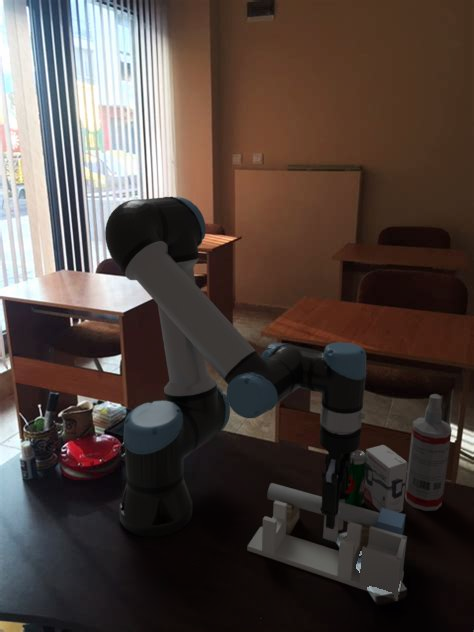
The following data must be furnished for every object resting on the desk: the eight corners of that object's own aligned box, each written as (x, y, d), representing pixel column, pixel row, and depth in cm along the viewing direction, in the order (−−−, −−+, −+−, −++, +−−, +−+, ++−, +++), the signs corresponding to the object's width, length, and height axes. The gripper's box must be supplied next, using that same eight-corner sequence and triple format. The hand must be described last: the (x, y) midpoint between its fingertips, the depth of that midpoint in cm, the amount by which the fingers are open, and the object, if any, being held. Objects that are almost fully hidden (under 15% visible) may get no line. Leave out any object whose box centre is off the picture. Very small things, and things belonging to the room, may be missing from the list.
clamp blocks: (275, 530, 109) (276, 503, 107) (285, 514, 113) (286, 488, 112) (370, 559, 101) (372, 531, 99) (376, 541, 106) (378, 514, 104)
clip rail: (246, 551, 103) (247, 514, 100) (260, 529, 108) (261, 494, 106) (397, 602, 91) (401, 561, 89) (403, 575, 97) (408, 536, 95)
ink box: (360, 494, 120) (364, 447, 117) (379, 489, 122) (383, 443, 119) (384, 517, 113) (389, 467, 110) (403, 511, 115) (409, 462, 112)
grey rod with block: (266, 503, 109) (266, 489, 108) (274, 492, 112) (274, 478, 112) (400, 543, 98) (401, 528, 97) (404, 528, 102) (405, 514, 101)
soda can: (363, 511, 115) (367, 461, 111) (339, 508, 116) (342, 458, 112) (362, 497, 119) (367, 449, 116) (339, 494, 120) (343, 446, 117)
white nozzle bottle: (443, 513, 114) (458, 405, 107) (407, 508, 116) (419, 402, 109) (437, 491, 122) (450, 389, 115) (403, 487, 123) (414, 387, 116)
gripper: (349, 450, 91) (340, 566, 98) (370, 412, 105) (361, 515, 112) (307, 440, 94) (301, 553, 101) (332, 404, 108) (326, 505, 115)
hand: (333, 532), depth 106 cm, fingers closed on grey rod with block, 3 cm apart
